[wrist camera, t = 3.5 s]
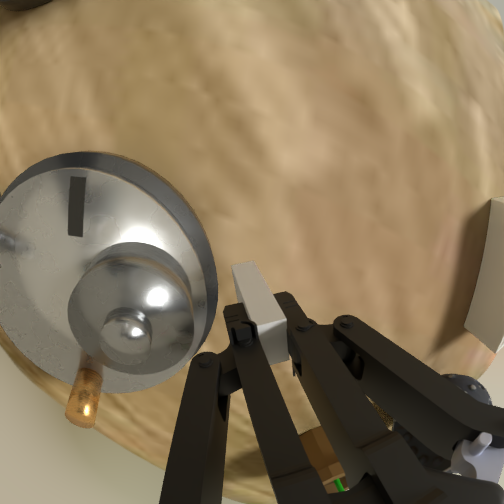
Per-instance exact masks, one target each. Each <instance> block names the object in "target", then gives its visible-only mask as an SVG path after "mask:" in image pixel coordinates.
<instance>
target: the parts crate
mask: <svg viewBox="0 0 504 504" xmlns="http://www.w3.org/2000/svg"><path fill="white" fill-rule="evenodd" d="M464 327H465V328H466V329H467V330H468V331H470V332H471V333H472V334H473V335H474V336H475V337H477V338H478V339H479V340H480V341H481V342H482V343H484V344H485V345H486V346H487V347H488V348H489V349H490V350H492V351H493V352H494V353H495V354H496V353H497V352H498V351H499V350H500V349H501V348H502V347H503V346H504V196H503V197H497V198H491V208H490V216H489V224H488V231H487V237H486V243H485V248H484V253H483V258H482V263H481V267H480V272H479V276H478V280H477V284H476V288H475V291H474V295H473V298H472V302H471V305H470V308H469V311H468V315H467V318H466V321H465V324H464Z"/></svg>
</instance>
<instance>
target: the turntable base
mask: <svg viewBox="0 0 504 504" xmlns="http://www.w3.org/2000/svg"><path fill="white" fill-rule="evenodd" d="M67 167H91V168H97V169H103V170H106V171H109V172H112V173H115V174H118V175H121V176H123V177H125V178H127V179H129V180H131V181H133V182H135V183H137V184H139V185H140V186H142V187H143V188H144V189H146V190H147V191H149V192H150V193H152V194H153V195H154V196H155V197H156V198H157V199H159V200H160V201H161V202H162V203H163V204H164V205H165V206H166V207H167V208H168V209H169V210H170V211H171V212H172V214H173V215H174V216H175V217H176V218H177V219H178V220H179V222H180V223H181V225H182V226H183V228H184V229H185V231H186V232H187V234H188V235H189V237H190V239H191V241H192V243H193V245H194V247H195V249H196V252H197V254H198V257H199V260H200V263H201V266H202V270H203V275H204V280H205V286H206V294H207V317H206V324H205V328H204V332H203V336H202V338H201V341H200V343H199V345H198V348H197V349H196V351H195V352H194V354H193V356H194V355H195V354H196V353H197V351H198V350H199V349H200V347H201V346H202V344H203V343H204V341H205V340H206V338H207V336H208V334H209V332H210V330H211V327H212V324H213V321H214V318H215V314H216V308H217V302H218V281H217V273H216V266H215V262H214V258H213V254H212V251H211V247H210V243H209V240H208V238H207V235H206V233H205V230H204V228H203V226H202V224H201V222H200V220H199V219H198V217H197V215H196V214H195V212H194V210H193V209H192V207H191V206H190V205H189V204H188V202H187V201H186V200H185V198H184V197H183V196H182V195H181V194H180V193H179V192H178V191H177V190H176V189H175V188H174V187H173V186H172V185H171V184H170V183H169V182H168V181H167V180H166V179H164V178H163V177H162V176H160V175H159V174H158V173H156V172H155V171H154V170H152V169H150V168H148V167H146V166H145V165H143V164H141V163H139V162H137V161H135V160H132V159H129V158H127V157H124V156H121V155H117V154H112V153H108V152H100V151H82V152H73V153H65V154H60V155H57V156H53V157H50V158H47V159H44V160H42V161H40V162H38V163H36V164H34V165H32V166H31V167H29V168H28V169H27V170H25V171H24V172H23V173H21V174H20V175H19V176H18V177H17V178H16V179H15V180H14V181H13V182H12V183H11V184H10V185H9V186H8V188H7V189H6V191H5V192H4V194H3V195H2V197H1V198H0V204H1V203H2V201H3V200H4V199H5V198H6V197H7V195H8V194H9V193H10V192H12V191H13V190H14V189H15V188H16V187H17V186H18V185H20V184H21V183H23V182H25V181H26V180H28V179H30V178H32V177H34V176H37V175H39V174H42V173H45V172H48V171H51V170H55V169H61V168H67ZM193 356H192V357H193ZM192 357H191V358H192Z"/></svg>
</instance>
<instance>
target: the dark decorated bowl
mask: <svg viewBox="0 0 504 504" xmlns="http://www.w3.org/2000/svg"><path fill="white" fill-rule="evenodd" d="M441 376H443V377H444V378H446V379H447V380H448V381H450V382H451V383H453V384H454V385H456V386H457V387H459V388H460V389H461V390H463V391H464V392H466V393H467V394H469V395H470V396H472V397H473V398H474V399H476V400H477V401H479V402H482V403H485V404H489V405H492V401H491V398H490V396H489V394H488V392H487V390H486V389H485V388H484V387H483V385H482V384H480V383H479V382H478V381H477V380H475V379H474V378H472V377H469V376H465V375H458V374H445V375H441ZM392 431H396V432H398V433H400V434H401V436H402V437H403V438H404V439H405V441H406V442H407V444H408V445H409V447H410V448H411V450H412V451H413V453H414V454H415V456H416V457H417V459H418V460H419V462H420V463H421V465H422V466H425V467H428V468H432V469H436V470H440V471H443V472H447V473H453V472H452V471H451V461H450V460H447V459H445V458H443V457H441V456H439V455H437V454H436V453H434V452H433V451H432V450H430V449H429V448H428V447H426V446H425V445H424V444H423V443H422V442H420V441H419V440H418V439H417V438H416V437H414V436H413V435H412V434H411V433H410V432H409V431H407V430H406V429H405V428H404V427H403V426H401V425H400V424H399V423H398V422H397V421H396V420H394V419H393V426H392Z"/></svg>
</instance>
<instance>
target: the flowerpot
mask: <svg viewBox="0 0 504 504" xmlns="http://www.w3.org/2000/svg"><path fill="white" fill-rule="evenodd" d="M299 438H300V440H301V442H302V445H303V447H304V449H305V452H306V454H307V456H308V459H309V461H310V463H311V465H312V466H313V467H315V469H316V470H317V472H318V474H319V476H320V478H321V480H322V483H323V485H324V487H325V489H326V492H327V494H330V493H336V492H342V491H346V490H348V489H349V488H348V485H347V482H346V477H345V473H344V470H343V468H342V466H341V464H340V462H339V460H338V458H337V456H336V454H335V452H334V450H333V448H332V446H331V444H330V442H329V440H328V438H327V436H326V434H325V432H324V430H323V428H322V426H320V427H317V428H314V429H311V430H309V431H307V432H306V433H304V434H302V435H300V436H299Z"/></svg>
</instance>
